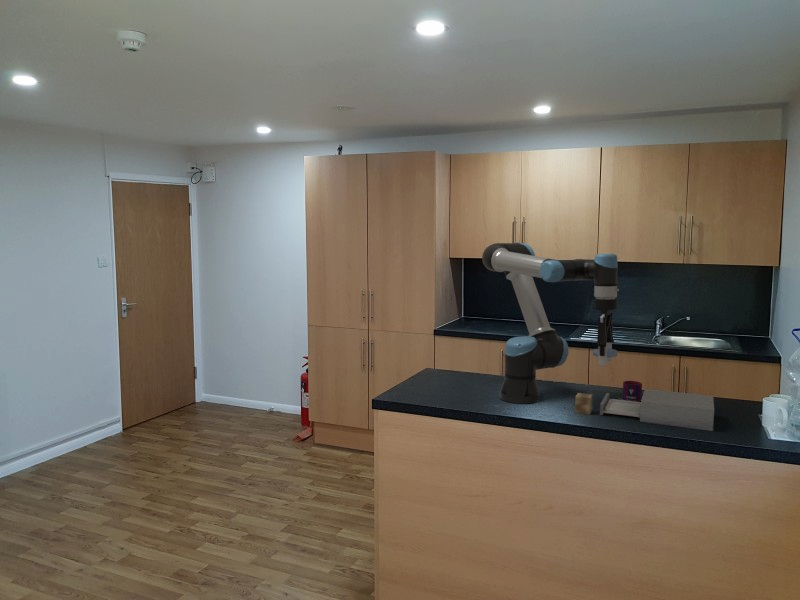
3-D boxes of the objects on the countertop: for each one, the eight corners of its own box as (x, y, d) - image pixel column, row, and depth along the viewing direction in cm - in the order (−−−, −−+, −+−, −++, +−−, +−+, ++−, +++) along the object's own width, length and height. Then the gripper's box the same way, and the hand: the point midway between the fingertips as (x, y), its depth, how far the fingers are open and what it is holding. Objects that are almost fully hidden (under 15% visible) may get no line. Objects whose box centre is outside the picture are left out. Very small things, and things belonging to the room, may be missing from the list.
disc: (590, 356, 210) (590, 351, 210) (595, 352, 217) (595, 348, 217) (614, 357, 206) (614, 353, 206) (618, 354, 213) (619, 349, 213)
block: (575, 412, 214) (575, 396, 214) (577, 409, 219) (578, 392, 218) (589, 414, 212) (590, 398, 211) (591, 410, 217) (592, 394, 216)
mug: (621, 401, 229) (622, 383, 228) (624, 394, 238) (625, 378, 237) (640, 403, 226) (641, 385, 225) (642, 397, 234) (643, 379, 234)
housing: (639, 421, 204) (640, 401, 204) (644, 407, 220) (645, 388, 220) (712, 431, 195) (714, 409, 194) (711, 415, 211) (713, 396, 210)
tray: (599, 414, 211) (600, 404, 211) (606, 403, 225) (606, 393, 225) (654, 421, 203) (654, 410, 203) (657, 409, 218) (657, 398, 217)
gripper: (611, 300, 199) (610, 369, 201) (622, 296, 217) (621, 358, 219) (587, 300, 203) (587, 367, 205) (600, 295, 221) (600, 357, 223)
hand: (605, 362), depth 212 cm, fingers closed on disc, 8 cm apart
